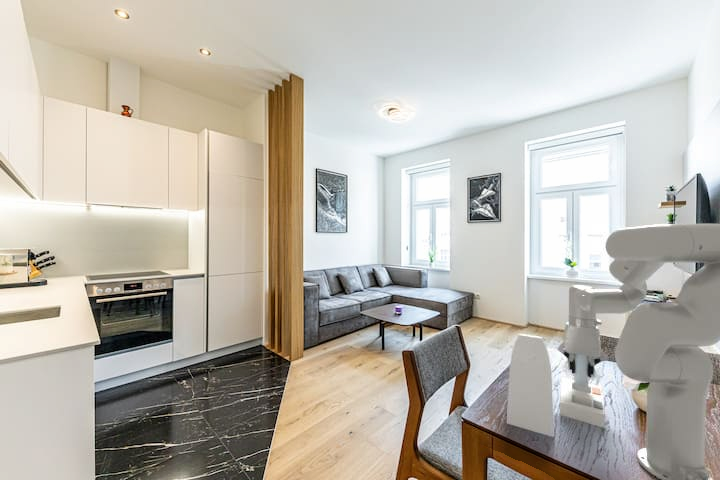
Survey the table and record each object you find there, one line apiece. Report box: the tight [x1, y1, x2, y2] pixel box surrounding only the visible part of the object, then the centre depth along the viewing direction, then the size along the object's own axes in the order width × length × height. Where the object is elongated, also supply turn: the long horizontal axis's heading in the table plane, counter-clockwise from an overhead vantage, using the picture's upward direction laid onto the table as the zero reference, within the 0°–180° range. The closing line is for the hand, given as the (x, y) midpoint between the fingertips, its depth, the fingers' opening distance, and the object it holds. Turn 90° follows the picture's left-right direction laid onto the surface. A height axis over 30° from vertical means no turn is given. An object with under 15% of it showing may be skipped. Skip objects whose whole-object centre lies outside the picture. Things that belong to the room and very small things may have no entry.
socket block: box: [559, 377, 606, 429], centre depth 97 cm, size 20×11×4 cm, turn 143°
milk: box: [506, 333, 555, 438], centre depth 90 cm, size 12×12×26 cm
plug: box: [573, 354, 590, 387], centre depth 101 cm, size 4×4×12 cm
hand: (581, 373), depth 101 cm, fingers closed on plug, 4 cm apart
